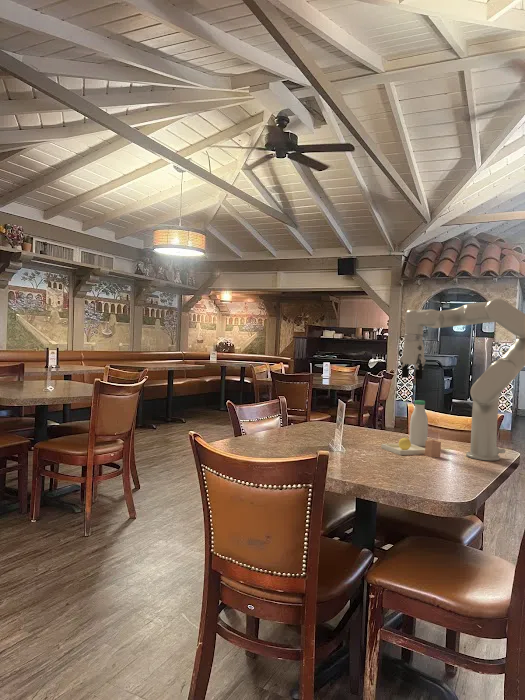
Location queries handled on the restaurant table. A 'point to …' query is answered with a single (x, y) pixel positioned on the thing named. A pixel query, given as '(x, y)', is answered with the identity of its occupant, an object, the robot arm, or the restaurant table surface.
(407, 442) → the ball
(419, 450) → the tray
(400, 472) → the restaurant table surface
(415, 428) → the milk bottle
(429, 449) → the brown rectangular block
